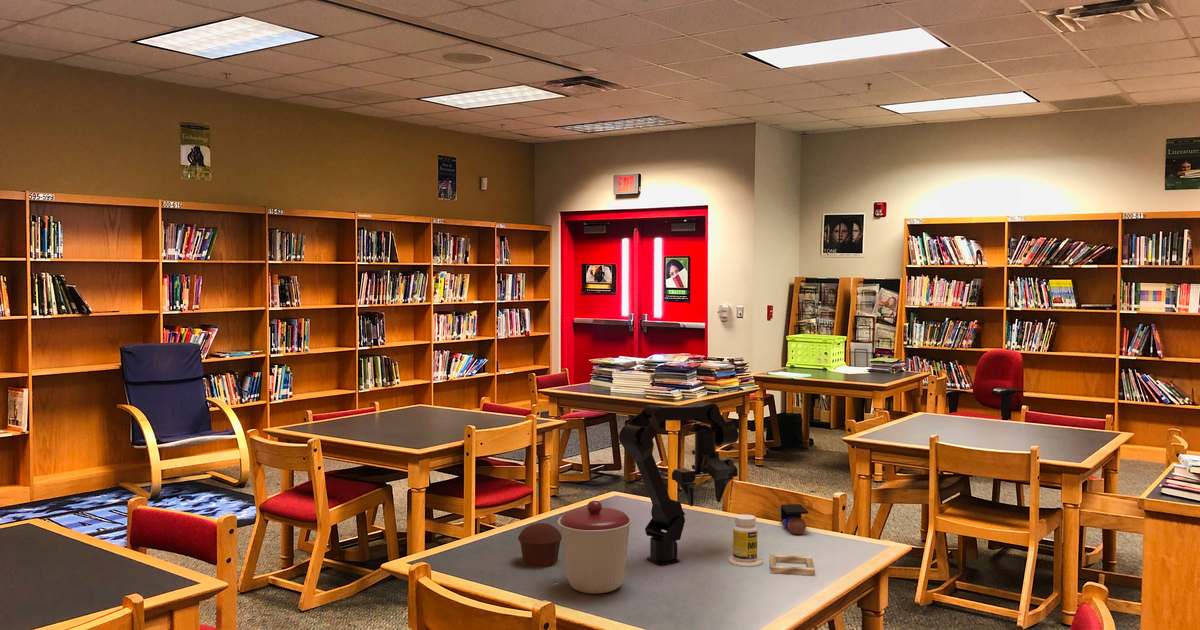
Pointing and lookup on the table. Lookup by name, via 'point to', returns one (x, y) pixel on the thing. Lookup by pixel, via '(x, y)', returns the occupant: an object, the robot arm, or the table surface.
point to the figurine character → (793, 517)
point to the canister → (595, 547)
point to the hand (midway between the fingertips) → (704, 504)
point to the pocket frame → (792, 570)
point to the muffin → (540, 545)
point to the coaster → (746, 564)
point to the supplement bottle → (745, 538)
